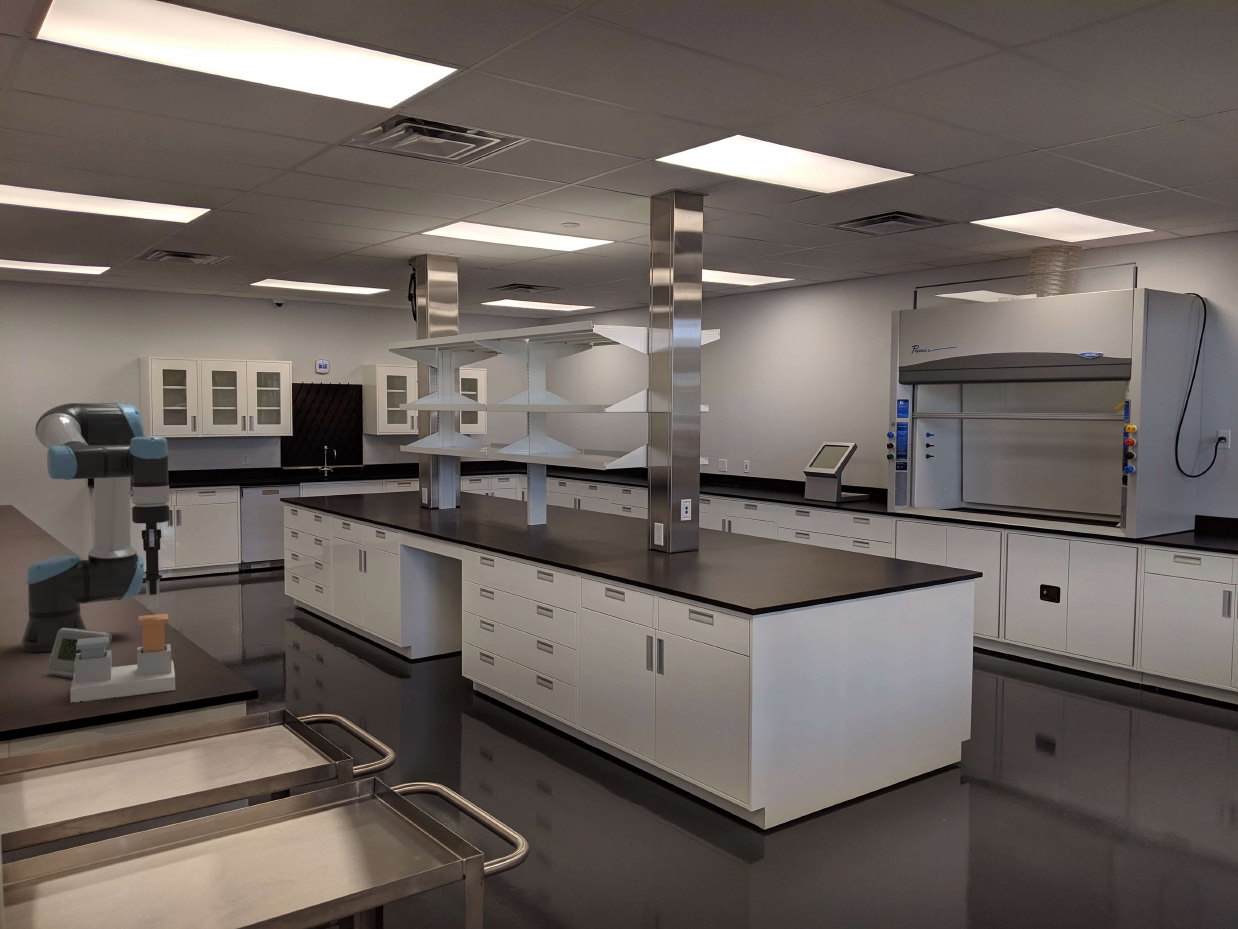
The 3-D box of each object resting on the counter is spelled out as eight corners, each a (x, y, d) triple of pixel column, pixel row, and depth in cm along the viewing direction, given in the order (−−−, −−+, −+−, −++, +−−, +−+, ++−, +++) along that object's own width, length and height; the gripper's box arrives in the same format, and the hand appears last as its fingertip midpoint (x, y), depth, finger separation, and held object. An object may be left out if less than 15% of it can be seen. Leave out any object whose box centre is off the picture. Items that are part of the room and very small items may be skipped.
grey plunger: (78, 674, 200) (78, 639, 200) (109, 671, 203) (108, 636, 203) (77, 681, 195) (76, 645, 195) (108, 678, 198) (107, 642, 198)
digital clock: (43, 675, 212) (42, 630, 211) (82, 666, 219) (81, 623, 219) (80, 686, 203) (79, 639, 203) (120, 676, 211) (119, 631, 210)
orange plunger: (139, 650, 206) (138, 616, 205) (168, 647, 209) (167, 613, 208) (139, 656, 201) (138, 621, 200) (169, 653, 203) (168, 618, 203)
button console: (75, 684, 204) (74, 649, 204) (173, 673, 214) (172, 639, 213) (70, 703, 191) (69, 666, 191) (175, 690, 200) (174, 654, 200)
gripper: (132, 503, 207) (134, 604, 208) (131, 508, 195) (134, 615, 196) (168, 501, 210) (171, 601, 211) (169, 506, 199) (172, 611, 200)
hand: (153, 608), depth 204 cm, fingers closed
